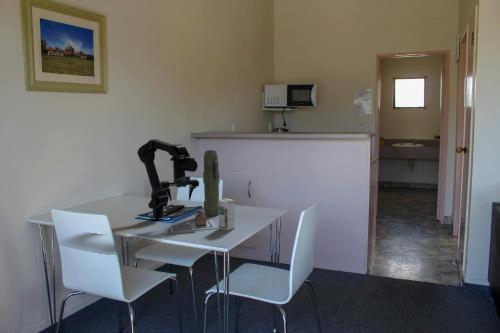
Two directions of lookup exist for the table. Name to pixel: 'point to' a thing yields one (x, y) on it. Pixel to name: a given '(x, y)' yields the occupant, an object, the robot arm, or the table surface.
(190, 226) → the ink pad
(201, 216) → the stamp
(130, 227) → the table surface
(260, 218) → the table surface
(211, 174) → the thermos
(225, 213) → the syrup box
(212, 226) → the board
